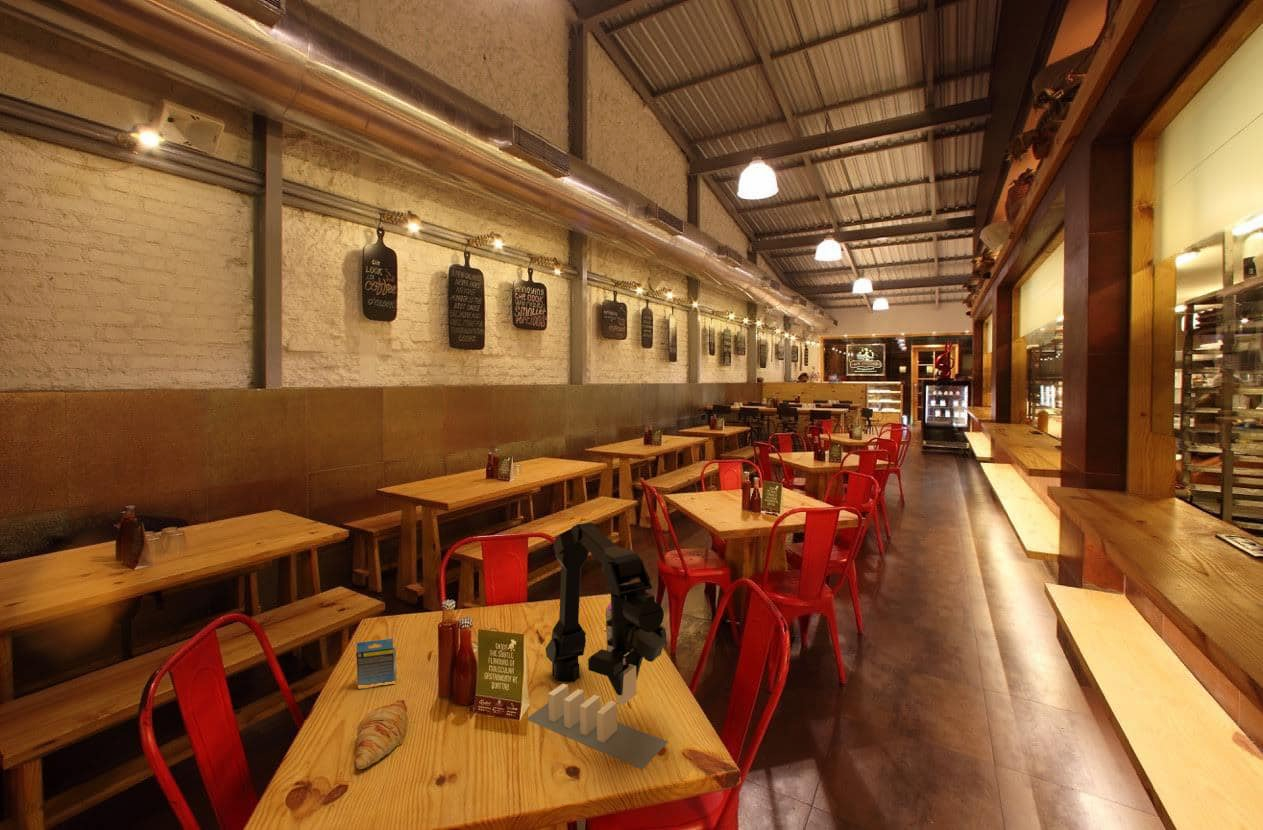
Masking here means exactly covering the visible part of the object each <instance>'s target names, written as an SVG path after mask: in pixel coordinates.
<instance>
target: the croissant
mask: <svg viewBox="0 0 1263 830" xmlns="http://www.w3.org/2000/svg"><path fill="white" fill-rule="evenodd" d="M407 712H408V706H407V704H406V703H405V700H404V699H398V700H397V699H396V701H395V702H393V703H390V704H388V705H384V706H381V707H378V708H375V709H373V710H372V711H370V712H369V713H367V714H366V715H365V716H364V717H363V718H362V719H361V721H360V722H359V723H358V725H357V727H356V736H357V737H356V741H355V745H356V746H357V749H356V752H355V754H356V759H355V764H356V768H357V769H358V770H363V769H365V768H369V767H370V766H372V765H373V763H374V764H375V762H376V763H377V762H379V761H380V759H381V758H382V759H383V758H385V755H386V756H387V755H389V754H390V753H392V751H393V750H395V747H396V746H397V747H398V746H399V745H398V744H400V745H401V744H402V743H403V741H404V737H405V733H406V731H407V727H408V720H409V719H408V714H407ZM397 747H396V748H397ZM371 764H372V765H371Z"/></svg>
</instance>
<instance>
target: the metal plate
mask: <svg viewBox="0 0 1263 830" xmlns="http://www.w3.org/2000/svg"><path fill="white" fill-rule="evenodd" d="M525 720H526V721H529V722H531V723H534V724H536V725H538V726H541V727H542V728H543V727H544V728H546V729H548V730H549V731H552V732H554V733H557V734H559V735H562V736H564V737H566V738H568V739H571V740H573V741H576V742H577V743H580V744H582V745H585V746H587V747H588V748H592V749H594V750H596V751H598V752H601V753H603V754H605V755H608V756H610V757H611V758H615V759H617V760H619V761H621V762H624V763H626V764H629V765H630V766H633V767H635V768H637V769H640V770H644V769H645V768H646V767H647V766H648V764H649V763H650V762H651V761H652V760H653V759H655V757H656V756H657V754H659V752H661V750H662V749H664V747H665V746H666V745H667V744H668V743H669V741H668V740H665V739H663V738H660V737H658V736H655V735H652V734H650V733H649V732H648V733H647V732H645V731H642V730H640V729H636V728H635V727H631V726H629V725H627V724H624V723H621V722H619V721H617V731H616V732H615V733H614V734H613V735H611V736H610V737H609V738H608V739H607V740H606V741H605V742H604V743H603V742H600V741H598V740H597V727H596V728H595V729H594V730H592V731H591V732H590V733H589V734H588V735H587V736H586V735H584V734H581V733H580V721H579V722H578V723H577V724H575V725H574V726H573V727H572V728H570V729H569V728H567V727H565V726H564V715H563V716H562V717H560V718H559V719H558V720H557V721H555V722H553V721H550V720H549V702H547V703H546V704H544V705H543V706H541V708H539V709H537V710H536V711H534V712H533V713H532V714H530V715H529V716H528V717H527V718H525Z"/></svg>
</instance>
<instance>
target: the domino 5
mask: <svg viewBox="0 0 1263 830" xmlns="http://www.w3.org/2000/svg"><path fill="white" fill-rule="evenodd" d="M628 666H629V668H628V669H626V670H625V671H624V678H623V691H622V695H617V694H616V703H617V704H619V705H622V706H625V704H627V703H628V702H629V701H630V700H632V699H633V698H634V697H635V695H637V692H638V691H637V690H638V689H637V686H638V685H637V681H636V666H635V665H632V664H629V665H628Z"/></svg>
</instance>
